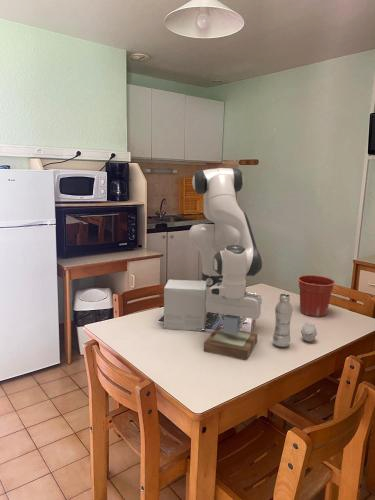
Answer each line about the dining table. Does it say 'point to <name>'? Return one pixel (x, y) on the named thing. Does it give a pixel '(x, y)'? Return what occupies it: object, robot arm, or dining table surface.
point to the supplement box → (185, 305)
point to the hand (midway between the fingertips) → (232, 325)
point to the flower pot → (315, 294)
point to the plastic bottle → (282, 321)
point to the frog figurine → (308, 332)
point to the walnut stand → (231, 343)
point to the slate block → (231, 324)
